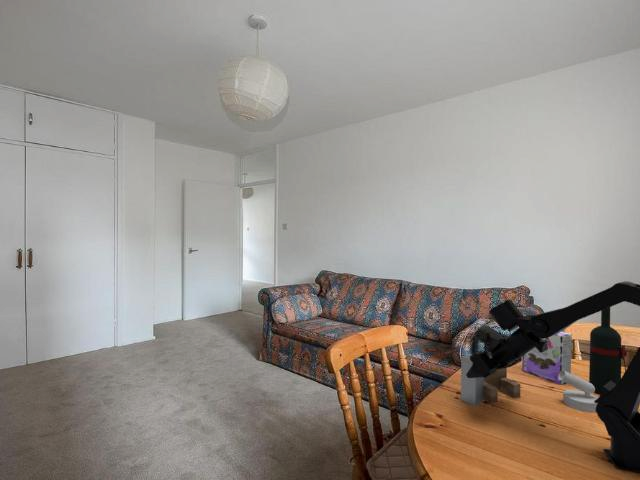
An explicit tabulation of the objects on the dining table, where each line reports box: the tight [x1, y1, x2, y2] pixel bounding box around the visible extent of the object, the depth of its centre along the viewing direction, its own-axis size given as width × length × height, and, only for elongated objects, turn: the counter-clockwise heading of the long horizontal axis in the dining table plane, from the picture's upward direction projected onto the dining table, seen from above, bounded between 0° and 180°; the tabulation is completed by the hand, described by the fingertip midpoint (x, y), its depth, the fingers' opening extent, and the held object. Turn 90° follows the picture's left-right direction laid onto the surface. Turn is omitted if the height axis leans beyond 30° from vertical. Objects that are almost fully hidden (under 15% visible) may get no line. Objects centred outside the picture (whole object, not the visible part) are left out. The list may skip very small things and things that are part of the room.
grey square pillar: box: [460, 353, 485, 407], centre depth 104 cm, size 4×4×13 cm
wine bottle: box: [588, 307, 628, 396], centre depth 110 cm, size 8×10×30 cm
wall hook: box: [558, 370, 599, 413], centre depth 102 cm, size 9×10×10 cm
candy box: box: [521, 331, 573, 385], centre depth 123 cm, size 14×6×16 cm, turn 25°
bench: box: [484, 368, 521, 404], centre depth 108 cm, size 8×14×7 cm, turn 110°
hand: (476, 372), depth 103 cm, fingers open, 9 cm apart
